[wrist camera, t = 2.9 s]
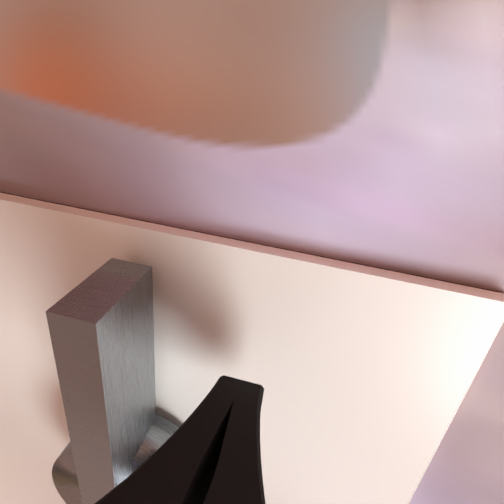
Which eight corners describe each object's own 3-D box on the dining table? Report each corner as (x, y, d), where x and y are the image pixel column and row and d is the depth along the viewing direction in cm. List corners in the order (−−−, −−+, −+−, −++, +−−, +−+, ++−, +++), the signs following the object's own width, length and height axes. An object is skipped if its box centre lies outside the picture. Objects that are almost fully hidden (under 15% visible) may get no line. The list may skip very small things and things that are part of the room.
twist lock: (205, 512, 18) (177, 595, 15) (90, 475, 19) (44, 547, 16) (223, 278, 12) (183, 346, 9) (52, 241, 13) (-32, 291, 10)
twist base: (340, 622, 21) (340, 636, 20) (-1, 501, 24) (-9, 511, 24) (506, 293, 11) (514, 305, 10) (-125, 167, 14) (-143, 171, 14)
